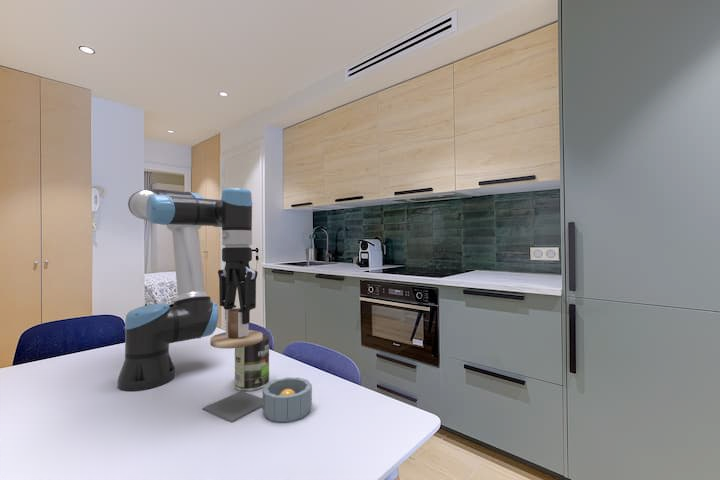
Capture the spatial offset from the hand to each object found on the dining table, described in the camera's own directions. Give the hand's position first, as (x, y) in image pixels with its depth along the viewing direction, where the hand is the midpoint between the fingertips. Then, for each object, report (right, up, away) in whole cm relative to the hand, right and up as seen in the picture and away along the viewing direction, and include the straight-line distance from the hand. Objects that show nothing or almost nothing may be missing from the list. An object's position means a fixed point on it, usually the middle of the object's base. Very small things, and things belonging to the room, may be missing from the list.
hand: (237, 334), depth 88 cm
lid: (0, -2, 0) cm, 2 cm away
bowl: (+14, -19, -3) cm, 24 cm away
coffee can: (-1, -19, +14) cm, 24 cm away
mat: (0, -19, 0) cm, 19 cm away
